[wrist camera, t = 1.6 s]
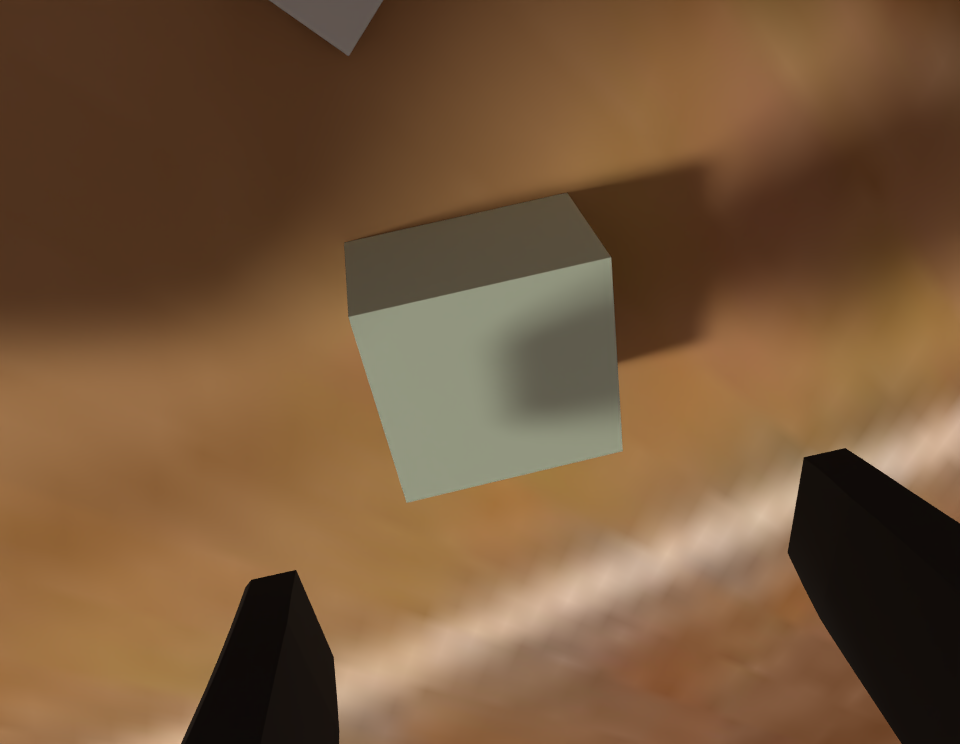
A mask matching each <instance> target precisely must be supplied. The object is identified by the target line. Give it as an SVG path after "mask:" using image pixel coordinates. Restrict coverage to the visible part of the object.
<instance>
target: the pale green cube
mask: <svg viewBox="0 0 960 744" xmlns="http://www.w3.org/2000/svg"><path fill="white" fill-rule="evenodd" d="M344 250H345V267H346V283H347V300H348V317H349V320H350V323H351V327H352V330H353V333H354V336H355V339H356V343H357V346H358V349H359V352H360V355H361V359H362V362H363V365H364V368H365V371H366V374H367V378H368V381H369V384H370V387H371V390H372V394H373V397H374V400H375V403H376V406H377V410H378V413H379V416H380V419H381V422H382V426H383V429H384V432H385V435H386V438H387V442H388V445H389V448H390V451H391V454H392V457H393V461H394V464H395V467H396V470H397V473H398V477H399V480H400V483H401V486H402V489H403V493H404V496H405V499H406V502H412V501H416V500H420V499H424V498H428V497H433V496H437V495H441V494H445V493H449V492H453V491H458V490H462V489H466V488H470V487H474V486H479V485H483V484H487V483H491V482H495V481H499V480H504V479H508V478H512V477H516V476H520V475H524V474H529V473H533V472H537V471H541V470H545V469H550V468H554V467H558V466H562V465H566V464H570V463H575V462H579V461H583V460H587V459H591V458H595V457H600V456H604V455H608V454H612V453H616V452H621V451H623V449H622V432H621V415H620V398H619V381H618V364H617V348H616V331H615V314H614V297H613V280H612V263H611V256H610V255H609V253H608V252H607V250H606V249H605V247H604V246H603V245H602V243H601V242H600V240H599V239H598V237H597V236H596V234H595V233H594V231H593V230H592V228H591V227H590V225H589V224H588V222H587V221H586V220H585V218H584V217H583V215H582V214H581V212H580V211H579V209H578V208H577V206H576V205H575V203H574V202H573V200H572V199H571V198H570V196H569V195H568V193H563V194H559V195H554V196H550V197H545V198H541V199H537V200H532V201H528V202H523V203H519V204H514V205H510V206H505V207H501V208H496V209H492V210H487V211H483V212H479V213H474V214H470V215H465V216H461V217H456V218H452V219H447V220H443V221H438V222H434V223H430V224H425V225H421V226H416V227H412V228H407V229H403V230H398V231H394V232H389V233H385V234H381V235H376V236H372V237H367V238H363V239H358V240H354V241H349V242H345V243H344Z"/></svg>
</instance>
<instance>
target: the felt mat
mask: <svg viewBox="0 0 960 744" xmlns="http://www.w3.org/2000/svg"><path fill="white" fill-rule="evenodd" d="M269 1H271V2H272V3H274V4H275V5H277V6H278V7H279V8H281V9H282V10H284V11H285V12H286V13H288V14H289V15H291V16H292V17H294V18H295V19H296V20H298V21H299V22H301V23H302V24H303V25H305V26H306V27H308V28H309V29H311V30H312V31H313V32H315V33H316V34H318V35H319V36H320V37H322V38H323V39H325V40H326V41H328V42H329V43H330V44H332V45H333V46H335V47H336V48H338V49H339V50H340V51H342V52H343V53H345V54H346V55H347V56H349V55H350V53H351V52H352V50H353V48H354V47H355V45H356V44H357V42H358V40H359V39H360V37H361V35H362V34H363V32H364V31H365V29H366V27H367V26H368V24H369V22H370V21H371V19H372V18H373V16H374V14H375V13H376V11H377V9H378V8H379V6H380V5H381V3H382V1H383V0H269Z"/></svg>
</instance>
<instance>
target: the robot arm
mask: <svg viewBox="0 0 960 744" xmlns="http://www.w3.org/2000/svg"><path fill="white" fill-rule="evenodd" d="M788 554H789V557H790V559H791V561H792V563H793V565H794V567H795V569H796V571H797V573H798V575H799V578H800V580H801V582H802V584H803V586H804V588H805V590H806V592H807V594H808V596H809V598H810V600H811V602H812V604H813V606H814V608H815V610H816V611H817V613H818V615H819V617H820V619H821V621H822V622H823V624H824V625H825V627H826V629H827V630H828V632H829V633H830V635H831V636H832V638H833V640H834V641H835V643H836V644H837V646H838V647H839V649H840V650H841V652H842V653H843V655H844V657H845V658H846V660H847V661H848V663H849V664H850V666H851V667H852V669H853V670H854V672H855V673H856V675H857V676H858V678H859V679H860V681H861V683H862V684H863V686H864V687H865V689H866V690H867V692H868V693H869V695H870V696H871V698H872V699H873V701H874V702H875V704H876V705H877V707H878V708H879V710H880V711H881V713H882V714H883V716H884V717H885V719H886V720H887V722H888V723H889V725H890V727H891V728H892V730H893V731H894V733H895V734H896V736H897V737H898V739H899V740H900V742H901V743H902V744H960V523H958V522H957V521H955V520H954V519H952V518H950V517H949V516H947V515H946V514H944V513H943V512H941V511H940V510H938V509H937V508H935V507H934V506H932V505H931V504H929V503H928V502H926V501H925V500H923V499H922V498H920V497H919V496H917V495H916V494H914V493H913V492H911V491H910V490H908V489H907V488H905V487H904V486H902V485H901V484H899V483H898V482H896V481H895V480H893V479H892V478H890V477H889V476H887V475H886V474H884V473H883V472H881V471H879V470H878V469H876V468H875V467H873V466H872V465H870V464H869V463H867V462H866V461H864V460H863V459H861V458H860V457H858V456H857V455H855V454H854V453H852V452H850V451H849V450H847V449H846V448H844V449H839V450H835V451H830V452H826V453H821V454H817V455H812V456H808V457H804V460H803V466H802V472H801V478H800V484H799V489H798V495H797V501H796V507H795V513H794V519H793V524H792V530H791V536H790V542H789V548H788ZM181 744H339V721H338V706H337V693H336V681H335V669H334V657H333V654H332V652H331V650H330V648H329V645H328V643H327V641H326V638H325V636H324V634H323V631H322V629H321V627H320V624H319V622H318V620H317V617H316V615H315V613H314V610H313V608H312V606H311V603H310V601H309V599H308V597H307V594H306V592H305V590H304V587H303V585H302V583H301V580H300V578H299V576H298V573H297V571H296V570H294V571H289V572H285V573H280V574H276V575H271V576H267V577H262V578H258V579H253V580H251V581H250V582H249V584H248V585H247V586H246V588H245V590H244V593H243V596H242V599H241V601H240V604H239V607H238V610H237V612H236V615H235V618H234V620H233V623H232V625H231V628H230V631H229V633H228V636H227V638H226V641H225V643H224V646H223V648H222V651H221V653H220V656H219V658H218V661H217V663H216V665H215V668H214V670H213V673H212V675H211V677H210V680H209V682H208V685H207V687H206V689H205V691H204V694H203V696H202V698H201V700H200V703H199V705H198V707H197V709H196V712H195V714H194V716H193V718H192V720H191V723H190V725H189V727H188V729H187V732H186V734H185V736H184V738H183V741H182V743H181Z"/></svg>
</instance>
